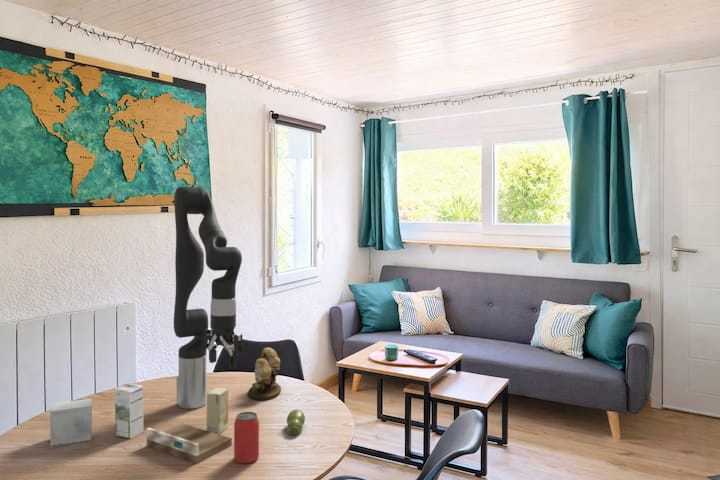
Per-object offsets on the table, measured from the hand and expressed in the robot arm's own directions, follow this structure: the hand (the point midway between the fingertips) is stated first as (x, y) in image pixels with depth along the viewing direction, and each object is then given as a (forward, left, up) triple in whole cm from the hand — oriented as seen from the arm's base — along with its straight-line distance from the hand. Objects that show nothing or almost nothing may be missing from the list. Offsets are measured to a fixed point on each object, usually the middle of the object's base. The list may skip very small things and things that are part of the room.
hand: (222, 364), depth 158 cm
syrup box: (-21, -17, -20) cm, 34 cm away
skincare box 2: (-1, -1, -20) cm, 21 cm away
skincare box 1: (-32, -28, -21) cm, 47 cm away
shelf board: (0, -13, -20) cm, 24 cm away
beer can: (+19, -11, -20) cm, 30 cm away
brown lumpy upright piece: (-11, +33, -21) cm, 40 cm away
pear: (+19, +12, -21) cm, 30 cm away
